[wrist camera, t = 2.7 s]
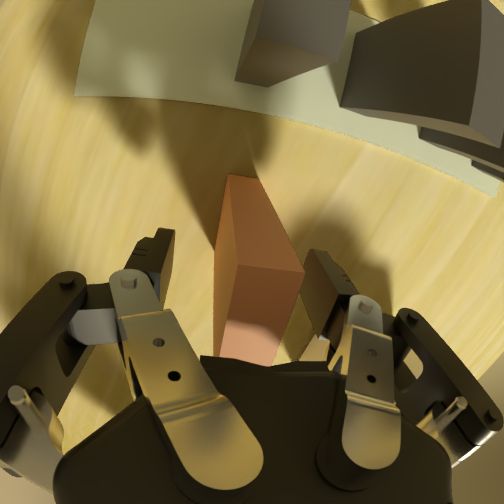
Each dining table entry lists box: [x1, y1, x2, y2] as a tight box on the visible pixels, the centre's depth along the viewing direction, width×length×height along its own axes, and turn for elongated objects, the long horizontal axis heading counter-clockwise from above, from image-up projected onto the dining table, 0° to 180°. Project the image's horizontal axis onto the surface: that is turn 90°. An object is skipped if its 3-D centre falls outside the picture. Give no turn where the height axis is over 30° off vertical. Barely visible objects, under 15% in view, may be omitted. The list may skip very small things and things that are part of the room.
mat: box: [74, 0, 501, 199], centre depth 14 cm, size 32×8×1 cm, turn 78°
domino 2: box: [213, 174, 305, 366], centre depth 13 cm, size 2×5×10 cm, turn 168°
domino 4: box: [419, 127, 504, 173], centre depth 10 cm, size 2×5×10 cm, turn 168°
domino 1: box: [234, 0, 351, 88], centre depth 8 cm, size 2×5×10 cm, turn 168°
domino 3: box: [340, 0, 504, 148], centre depth 9 cm, size 2×5×10 cm, turn 168°
